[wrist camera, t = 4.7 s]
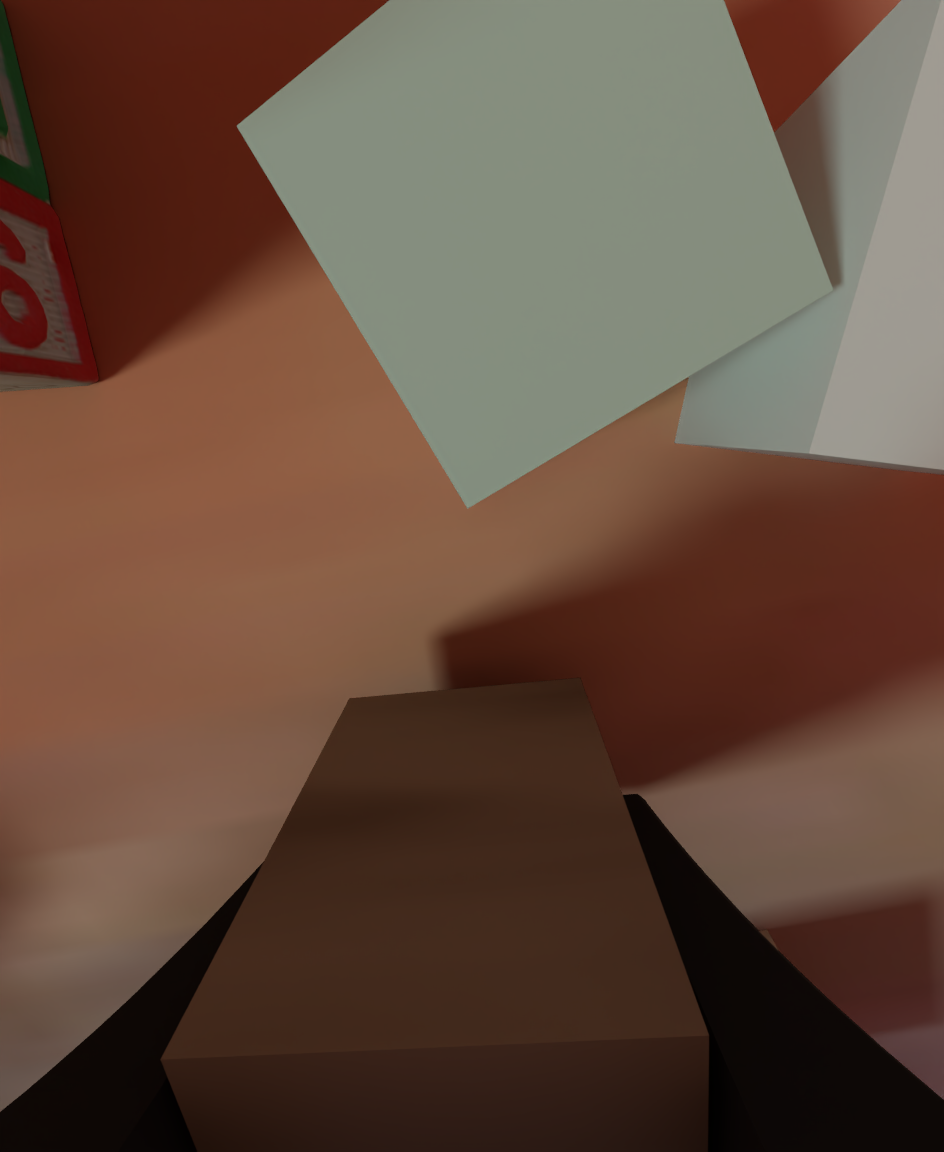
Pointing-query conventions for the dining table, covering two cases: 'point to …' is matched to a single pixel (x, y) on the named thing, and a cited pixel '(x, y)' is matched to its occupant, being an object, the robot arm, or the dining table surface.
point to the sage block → (539, 211)
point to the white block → (854, 273)
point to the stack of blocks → (33, 257)
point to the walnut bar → (450, 951)
